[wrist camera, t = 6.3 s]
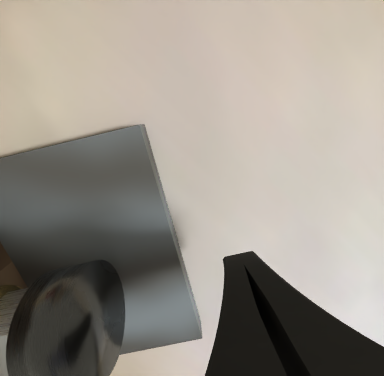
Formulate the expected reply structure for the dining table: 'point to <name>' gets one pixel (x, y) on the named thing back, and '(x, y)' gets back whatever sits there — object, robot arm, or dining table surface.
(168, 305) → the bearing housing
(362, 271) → the dining table surface
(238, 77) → the dining table surface
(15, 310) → the shaft
